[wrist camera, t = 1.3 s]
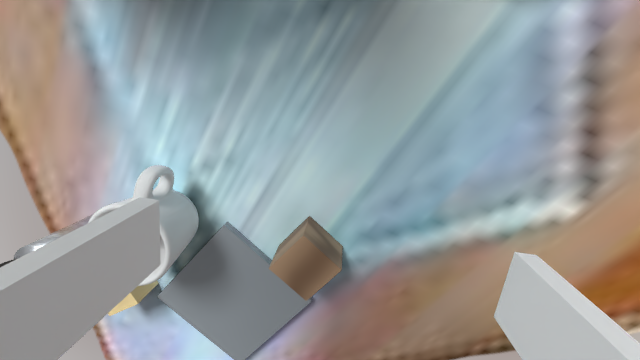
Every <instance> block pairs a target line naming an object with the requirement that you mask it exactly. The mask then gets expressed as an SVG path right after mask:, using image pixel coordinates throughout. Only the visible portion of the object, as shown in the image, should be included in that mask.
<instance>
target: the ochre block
mask: <svg viewBox="0 0 640 360" xmlns="http://www.w3.org/2000/svg"><path fill="white" fill-rule="evenodd" d="M157 284H158V281H155V282H153V283H151V284H147V285H143V286H137V287H136V288H135V289H134V290H133V291H132V292H130V293H129V294H128V295H127V296H126V297H125V298H124V299H123V300H122V301H121V302H120V303H119V304H117V305H116V306H115V307H114V308H113V309H112V310H111V311H110V312H109V313H108V314H109V316H111V315H113V314H116V313H118V312H120V311H123V310H125V309H127V308H130V307H132V306H134V305H136V304H138V303H139V302H140V301H141V300H142V299H143V298H144V297H145V296H146V295H147V294H148V293H149V292H150V291H151V290H152V289H153V288H154V287H155V286H156V285H157Z"/></svg>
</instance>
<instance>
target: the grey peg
mask: <svg viewBox="0 0 640 360" xmlns="http://www.w3.org/2000/svg"><path fill="white" fill-rule="evenodd" d="M93 215H94V214H93ZM93 215H91V216H88V217H86V218H84V219H82V220H80V221H78V222H76V223H74V224H71V225H69V226H67V227H65V228H63V229H61V230H59V231H56V232H54V233H52V234H50V235H48V236H46V237H44V238H41V239H39V240H37V241H35V242H33V243H31V244H29V245H27V246H25V247H22V248H20V249H19V250H18V251H17V252H16V254H15V256H14V259H17V258H20V257H22V256H24V255H26V254H28V253H30V252H32V251H34V250H36V249H38V248H40V247H42V246H44V245H46V244H48V243H50V242H52V241H54V240H56V239H58V238H60V237H62V236H64V235H66V234H68V233H70V232H72V231H74V230H76V229H78V228H80V227H82V226H84V225H86V224H88V222H89V220H90V219H91V217H92V216H93Z"/></svg>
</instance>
